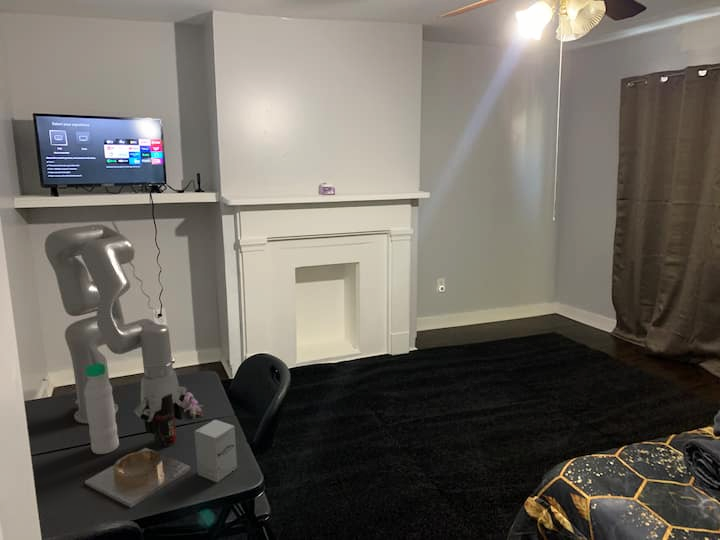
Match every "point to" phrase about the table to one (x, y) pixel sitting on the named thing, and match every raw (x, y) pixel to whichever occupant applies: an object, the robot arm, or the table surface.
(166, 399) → the deodorant
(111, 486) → the base
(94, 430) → the water bottle
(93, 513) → the table surface
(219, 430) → the supplement box
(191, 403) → the pink plush toy
